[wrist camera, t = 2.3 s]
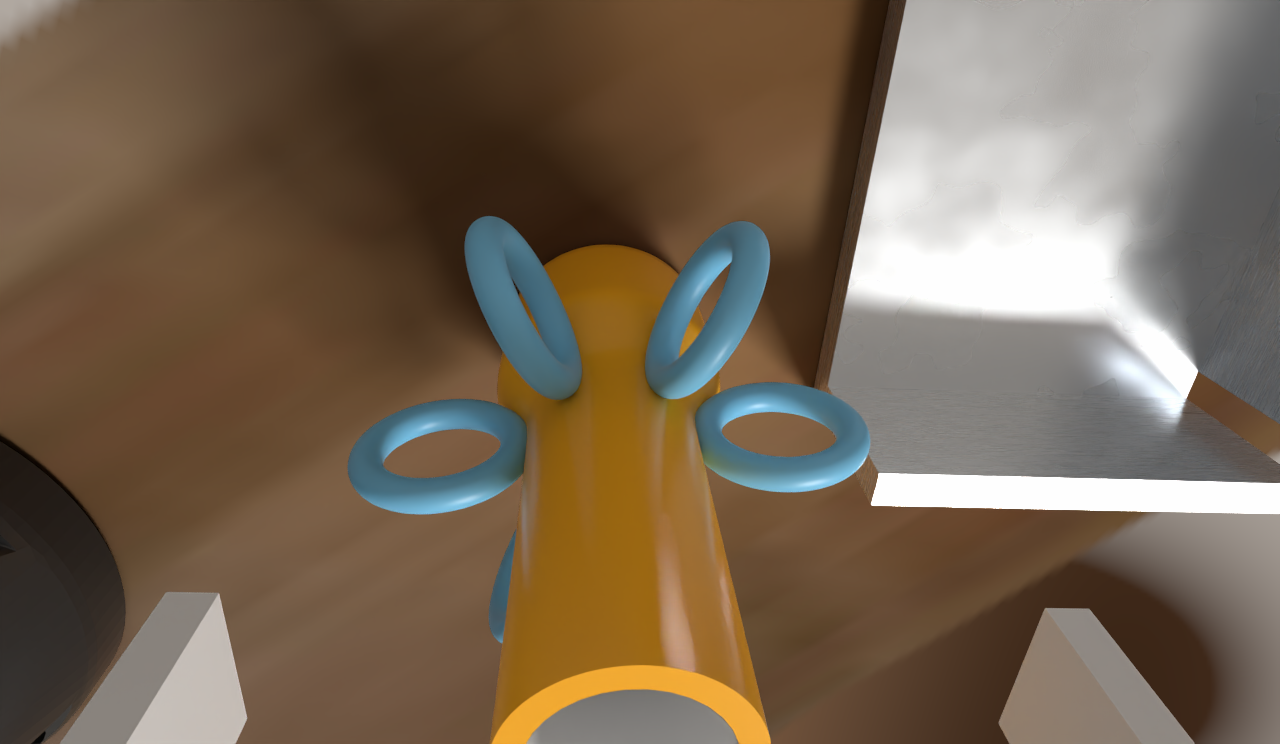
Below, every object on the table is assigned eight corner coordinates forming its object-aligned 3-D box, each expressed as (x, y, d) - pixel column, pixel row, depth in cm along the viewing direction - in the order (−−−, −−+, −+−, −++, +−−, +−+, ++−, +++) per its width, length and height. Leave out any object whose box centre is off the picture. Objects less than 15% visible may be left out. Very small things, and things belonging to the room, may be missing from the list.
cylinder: (548, 60, 21) (479, 214, 7) (853, 248, 23) (1206, 604, 10) (370, 410, 25) (123, 907, 12) (646, 531, 28) (701, 1039, 15)
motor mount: (812, 395, 26) (877, 516, 20) (926, -191, 19) (1081, -267, 13) (1284, 411, 27) (1472, 528, 21) (1559, -126, 20) (1954, -167, 14)
